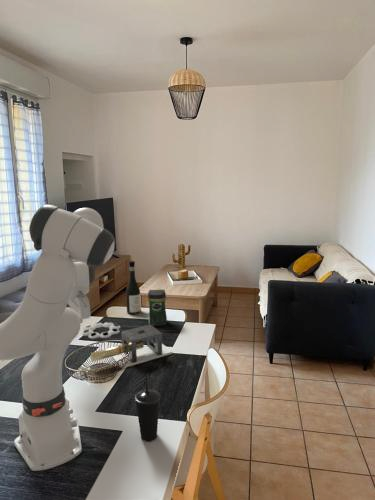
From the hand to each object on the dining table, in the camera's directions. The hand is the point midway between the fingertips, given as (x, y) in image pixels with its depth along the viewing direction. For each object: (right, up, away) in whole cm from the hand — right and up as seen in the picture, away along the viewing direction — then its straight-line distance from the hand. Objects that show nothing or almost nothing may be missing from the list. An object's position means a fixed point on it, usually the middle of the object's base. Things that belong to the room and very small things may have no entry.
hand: (79, 322), depth 148 cm
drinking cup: (+30, -29, -33) cm, 53 cm away
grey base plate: (+22, -18, +18) cm, 34 cm away
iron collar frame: (+22, -18, +18) cm, 34 cm away
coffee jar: (+26, -11, +52) cm, 60 cm away
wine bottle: (+12, -8, +69) cm, 70 cm away
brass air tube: (+13, -16, +11) cm, 23 cm away
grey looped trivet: (-2, -13, +45) cm, 47 cm away
